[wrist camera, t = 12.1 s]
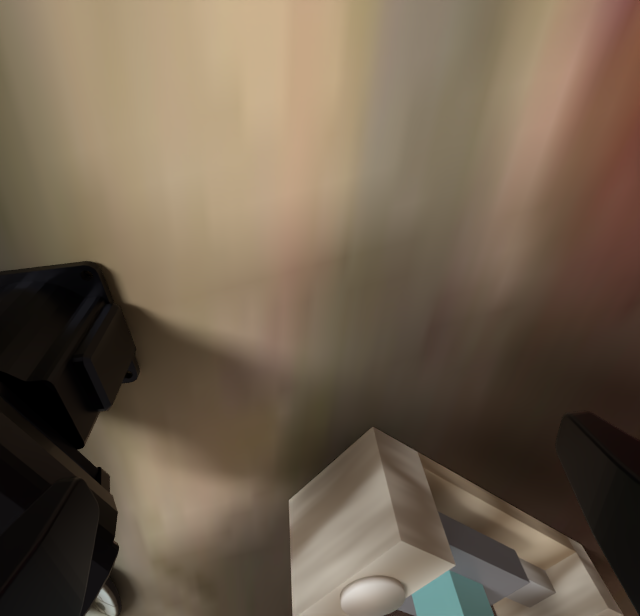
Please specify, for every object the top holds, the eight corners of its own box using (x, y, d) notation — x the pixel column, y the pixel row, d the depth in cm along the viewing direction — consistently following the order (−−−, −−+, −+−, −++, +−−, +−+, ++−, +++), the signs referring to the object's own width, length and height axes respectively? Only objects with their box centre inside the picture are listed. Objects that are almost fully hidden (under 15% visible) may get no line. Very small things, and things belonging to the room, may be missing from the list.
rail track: (288, 500, 29) (292, 628, 23) (372, 426, 27) (403, 549, 20) (502, 593, 38) (547, 704, 32) (582, 545, 35) (649, 657, 29)
